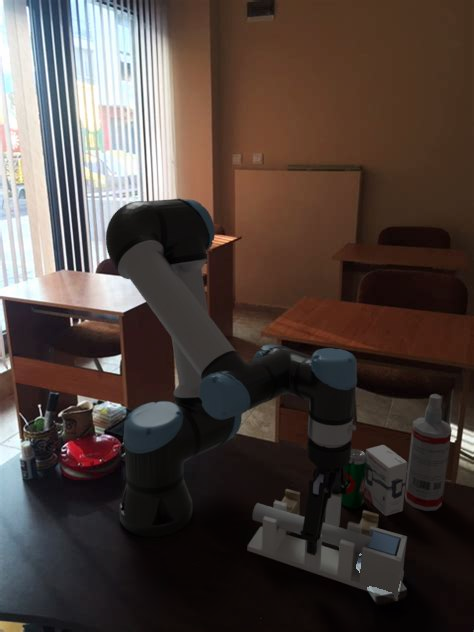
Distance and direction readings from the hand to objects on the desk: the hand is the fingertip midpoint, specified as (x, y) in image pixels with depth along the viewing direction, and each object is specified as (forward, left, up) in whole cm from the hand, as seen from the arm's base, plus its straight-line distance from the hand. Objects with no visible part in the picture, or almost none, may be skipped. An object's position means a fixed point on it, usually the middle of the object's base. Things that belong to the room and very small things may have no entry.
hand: (322, 543), depth 99 cm
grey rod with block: (0, 0, +1) cm, 1 cm away
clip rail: (0, 0, -4) cm, 4 cm away
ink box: (+7, +24, -4) cm, 25 cm away
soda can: (+1, +20, -4) cm, 21 cm away
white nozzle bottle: (+15, +28, -4) cm, 32 cm away
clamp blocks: (-2, +8, -4) cm, 9 cm away
